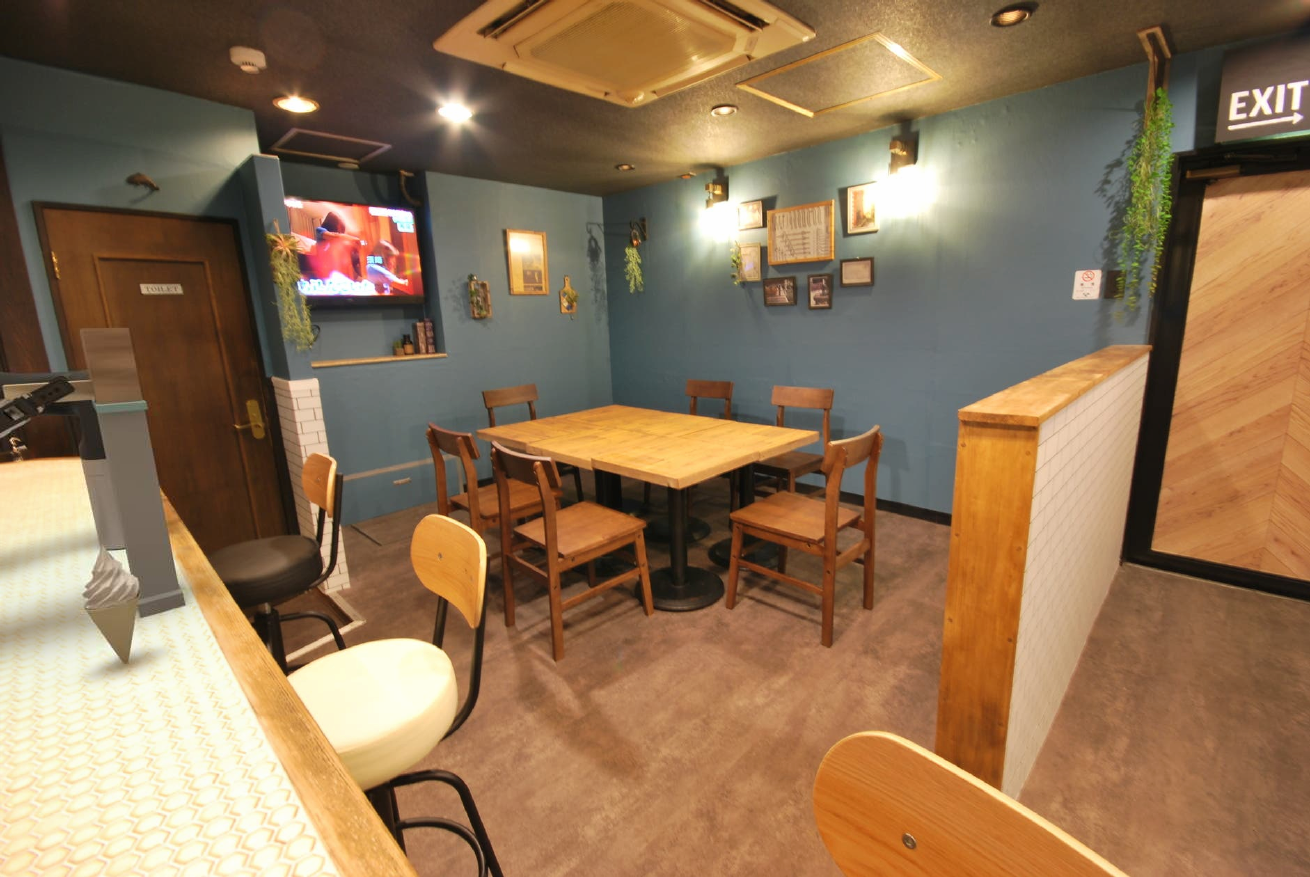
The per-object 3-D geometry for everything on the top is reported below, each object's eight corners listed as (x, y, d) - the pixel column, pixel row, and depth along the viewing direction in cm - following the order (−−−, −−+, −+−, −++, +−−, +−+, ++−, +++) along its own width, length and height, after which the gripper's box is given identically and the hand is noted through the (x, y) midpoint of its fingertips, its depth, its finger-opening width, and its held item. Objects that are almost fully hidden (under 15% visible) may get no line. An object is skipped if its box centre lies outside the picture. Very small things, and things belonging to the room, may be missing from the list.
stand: (131, 588, 91) (91, 398, 85) (172, 578, 95) (136, 395, 89) (140, 617, 81) (96, 405, 76) (185, 605, 85) (146, 401, 79)
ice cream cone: (163, 654, 72) (139, 539, 69) (114, 677, 67) (87, 555, 64) (136, 648, 73) (112, 535, 71) (87, 670, 69) (59, 550, 66)
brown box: (10, 406, 78) (-8, 331, 76) (135, 396, 87) (122, 329, 85) (6, 412, 71) (-14, 329, 70) (142, 400, 80) (128, 327, 79)
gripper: (-130, 444, 63) (43, 359, 72) (-105, 430, 73) (44, 357, 82) (-61, 494, 67) (96, 408, 76) (-46, 474, 77) (91, 400, 86)
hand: (68, 382), depth 79 cm, fingers open, 6 cm apart
